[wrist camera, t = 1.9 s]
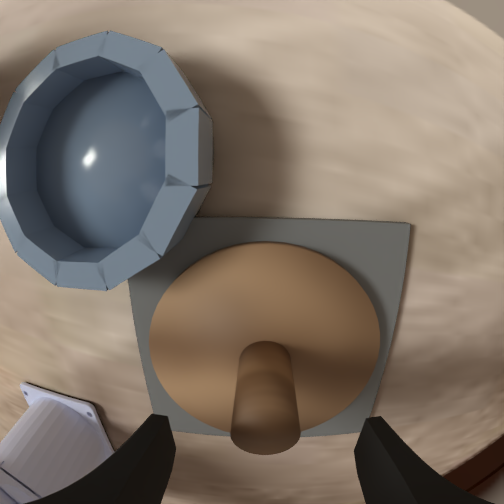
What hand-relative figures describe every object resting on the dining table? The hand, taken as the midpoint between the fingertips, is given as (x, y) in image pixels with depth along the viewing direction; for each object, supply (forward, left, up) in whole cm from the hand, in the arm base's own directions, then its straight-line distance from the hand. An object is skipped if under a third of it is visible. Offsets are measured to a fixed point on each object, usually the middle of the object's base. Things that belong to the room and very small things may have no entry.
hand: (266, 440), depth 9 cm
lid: (0, 0, -6) cm, 6 cm away
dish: (+10, +8, -7) cm, 14 cm away
